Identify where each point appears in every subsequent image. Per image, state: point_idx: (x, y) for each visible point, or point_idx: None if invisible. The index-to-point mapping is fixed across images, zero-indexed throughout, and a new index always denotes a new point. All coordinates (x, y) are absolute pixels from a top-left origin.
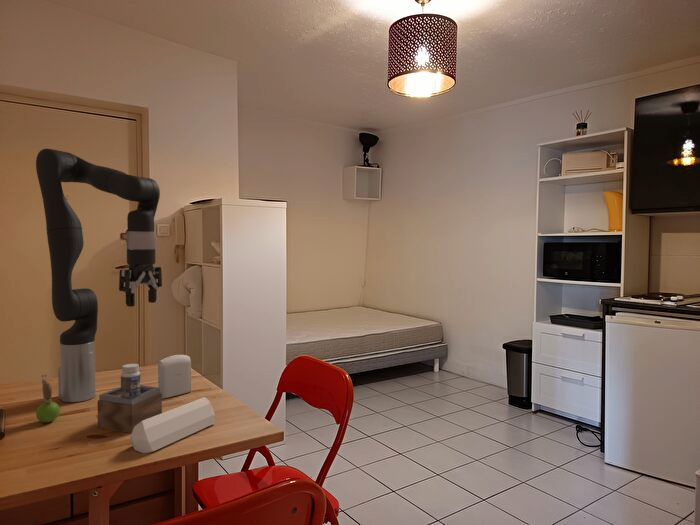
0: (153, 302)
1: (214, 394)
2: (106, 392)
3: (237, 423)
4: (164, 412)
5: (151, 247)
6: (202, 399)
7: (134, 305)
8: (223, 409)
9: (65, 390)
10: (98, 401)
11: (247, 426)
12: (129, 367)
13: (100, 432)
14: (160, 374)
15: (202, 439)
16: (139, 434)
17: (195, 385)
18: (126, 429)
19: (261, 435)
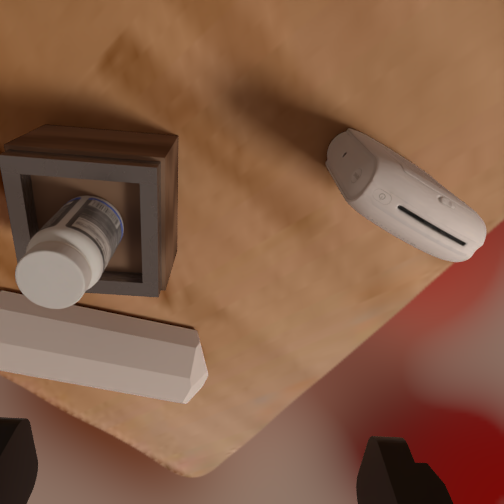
0: (358, 480)
1: (395, 283)
2: (31, 160)
3: (208, 411)
4: (39, 376)
5: None
6: (171, 400)
7: (33, 482)
8: (282, 354)
9: None
10: (5, 148)
11: (200, 431)
12: (25, 294)
13: None
14: (343, 175)
15: (106, 390)
16: None
17: (485, 181)
18: None
19: (169, 464)
